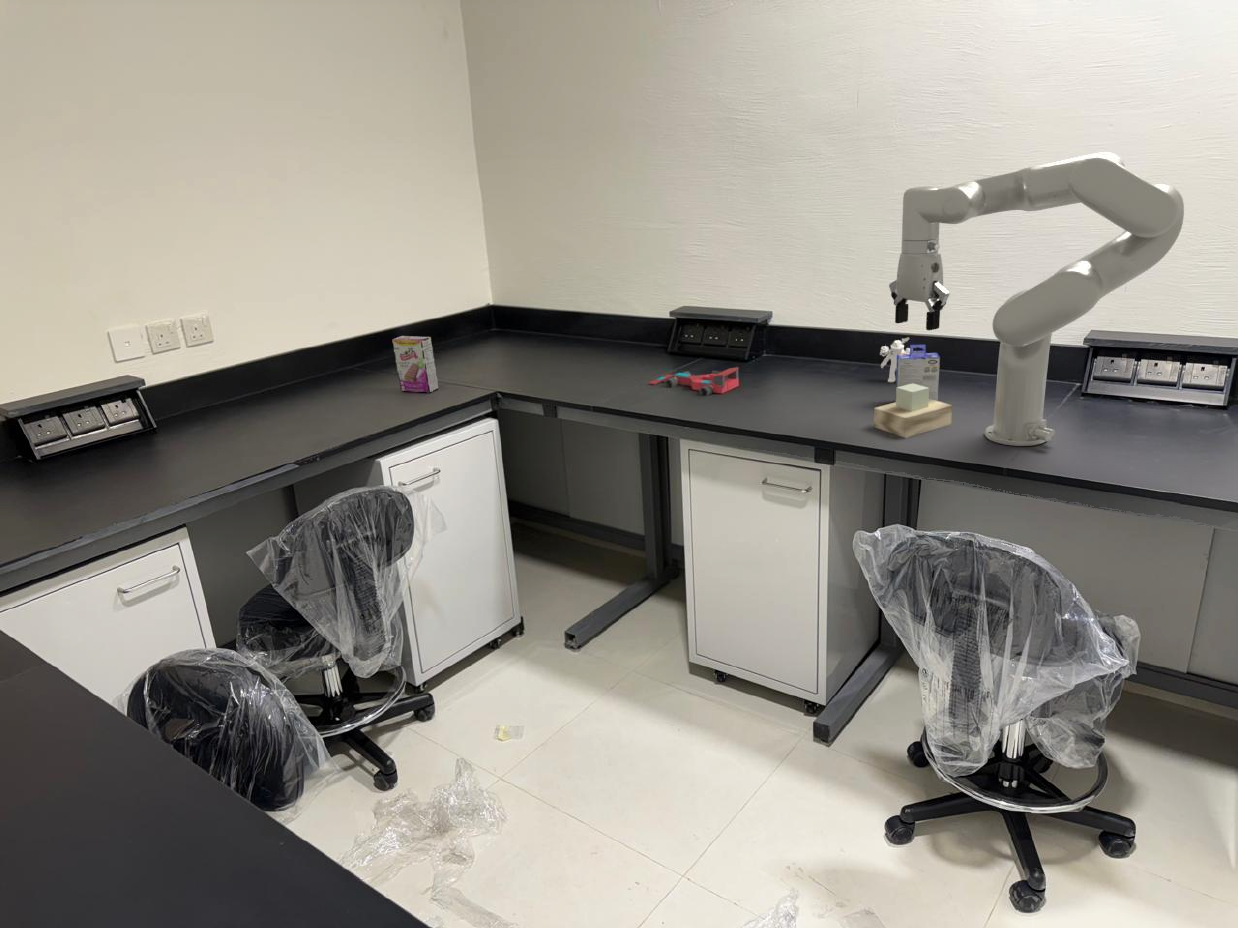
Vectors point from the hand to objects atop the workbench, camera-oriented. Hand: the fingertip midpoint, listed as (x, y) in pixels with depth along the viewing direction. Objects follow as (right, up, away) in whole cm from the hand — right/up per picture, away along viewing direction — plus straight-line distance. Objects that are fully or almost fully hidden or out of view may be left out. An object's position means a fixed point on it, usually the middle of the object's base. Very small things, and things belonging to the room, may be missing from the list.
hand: (916, 325), depth 194 cm
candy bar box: (-126, -9, +72) cm, 146 cm away
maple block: (+2, -22, +8) cm, 24 cm away
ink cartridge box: (+8, -16, +23) cm, 29 cm away
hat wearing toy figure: (+8, -9, +42) cm, 43 cm away
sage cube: (+1, -18, +7) cm, 19 cm away
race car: (-45, -9, +54) cm, 71 cm away
